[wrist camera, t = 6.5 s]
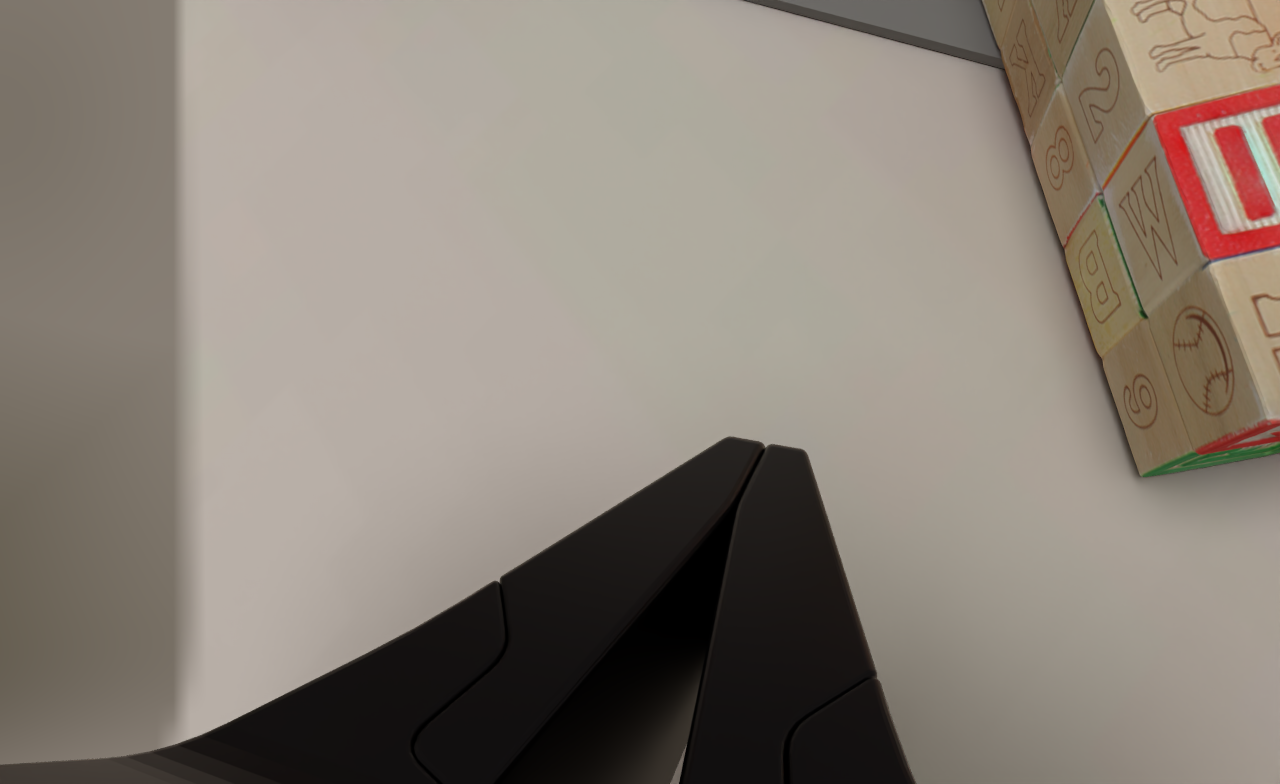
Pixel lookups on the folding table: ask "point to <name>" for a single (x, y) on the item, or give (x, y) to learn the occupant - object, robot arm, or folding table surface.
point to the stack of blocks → (1164, 206)
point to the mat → (910, 23)
